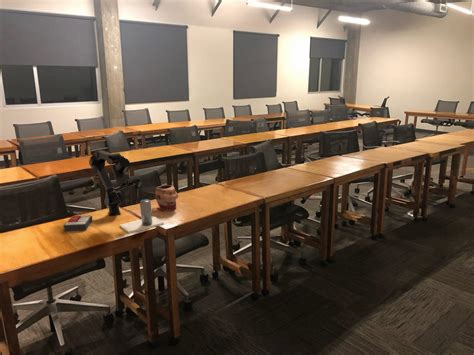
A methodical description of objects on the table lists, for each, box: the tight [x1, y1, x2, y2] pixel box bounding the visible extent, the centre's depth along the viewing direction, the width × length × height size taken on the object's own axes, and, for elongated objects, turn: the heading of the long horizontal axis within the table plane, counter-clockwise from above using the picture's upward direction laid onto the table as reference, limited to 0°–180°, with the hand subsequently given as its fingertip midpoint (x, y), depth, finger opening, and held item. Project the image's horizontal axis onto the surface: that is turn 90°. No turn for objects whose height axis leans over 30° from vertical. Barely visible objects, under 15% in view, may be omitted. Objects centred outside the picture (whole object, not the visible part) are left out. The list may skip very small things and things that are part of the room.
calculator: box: [63, 214, 93, 233], centre depth 206 cm, size 11×4×15 cm
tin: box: [139, 198, 153, 226], centre depth 203 cm, size 6×6×13 cm
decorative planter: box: [154, 184, 179, 211], centre depth 231 cm, size 20×12×14 cm, turn 51°
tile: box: [119, 215, 165, 234], centre depth 205 cm, size 20×12×1 cm, turn 128°
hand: (129, 201), depth 206 cm, fingers open, 9 cm apart
